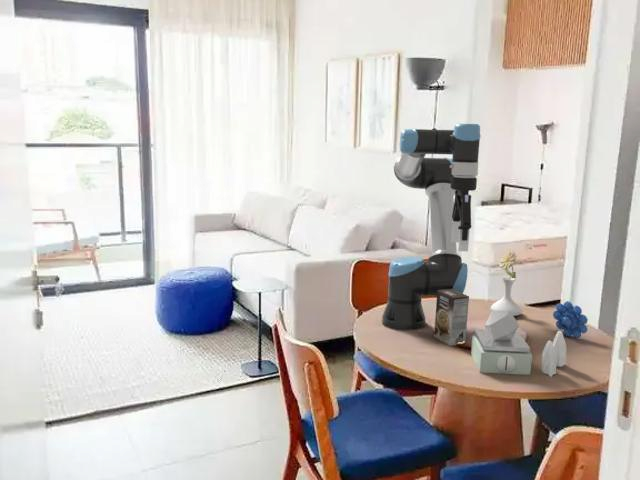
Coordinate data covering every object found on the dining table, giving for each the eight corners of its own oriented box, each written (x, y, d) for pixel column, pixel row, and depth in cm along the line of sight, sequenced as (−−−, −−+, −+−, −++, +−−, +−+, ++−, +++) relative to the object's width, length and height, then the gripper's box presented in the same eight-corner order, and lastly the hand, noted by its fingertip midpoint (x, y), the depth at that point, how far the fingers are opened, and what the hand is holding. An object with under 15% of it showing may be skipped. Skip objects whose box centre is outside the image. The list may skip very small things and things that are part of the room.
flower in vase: (488, 308, 228) (492, 245, 223) (518, 310, 226) (524, 246, 222) (493, 319, 215) (498, 252, 210) (525, 321, 214) (531, 253, 209)
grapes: (545, 335, 200) (549, 300, 198) (554, 330, 205) (557, 297, 202) (580, 344, 192) (584, 308, 190) (588, 339, 197) (592, 304, 194)
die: (511, 348, 167) (528, 318, 169) (484, 331, 168) (501, 301, 170) (501, 348, 176) (518, 319, 177) (475, 332, 176) (492, 303, 178)
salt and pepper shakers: (554, 361, 178) (558, 326, 175) (568, 365, 175) (572, 329, 173) (537, 372, 169) (541, 335, 167) (552, 377, 166) (555, 339, 164)
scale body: (471, 353, 182) (472, 333, 181) (517, 355, 181) (519, 335, 180) (480, 373, 168) (481, 351, 166) (530, 375, 167) (532, 353, 165)
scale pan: (474, 334, 180) (474, 330, 180) (518, 335, 179) (518, 332, 179) (482, 349, 168) (483, 345, 167) (529, 352, 167) (530, 348, 166)
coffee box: (433, 337, 196) (436, 290, 193) (449, 334, 198) (452, 288, 195) (449, 346, 188) (452, 297, 185) (466, 344, 190) (469, 295, 187)
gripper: (445, 172, 188) (441, 238, 192) (457, 179, 164) (452, 254, 168) (469, 173, 188) (465, 239, 192) (485, 180, 163) (479, 255, 168)
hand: (459, 246), depth 180 cm, fingers open, 13 cm apart
